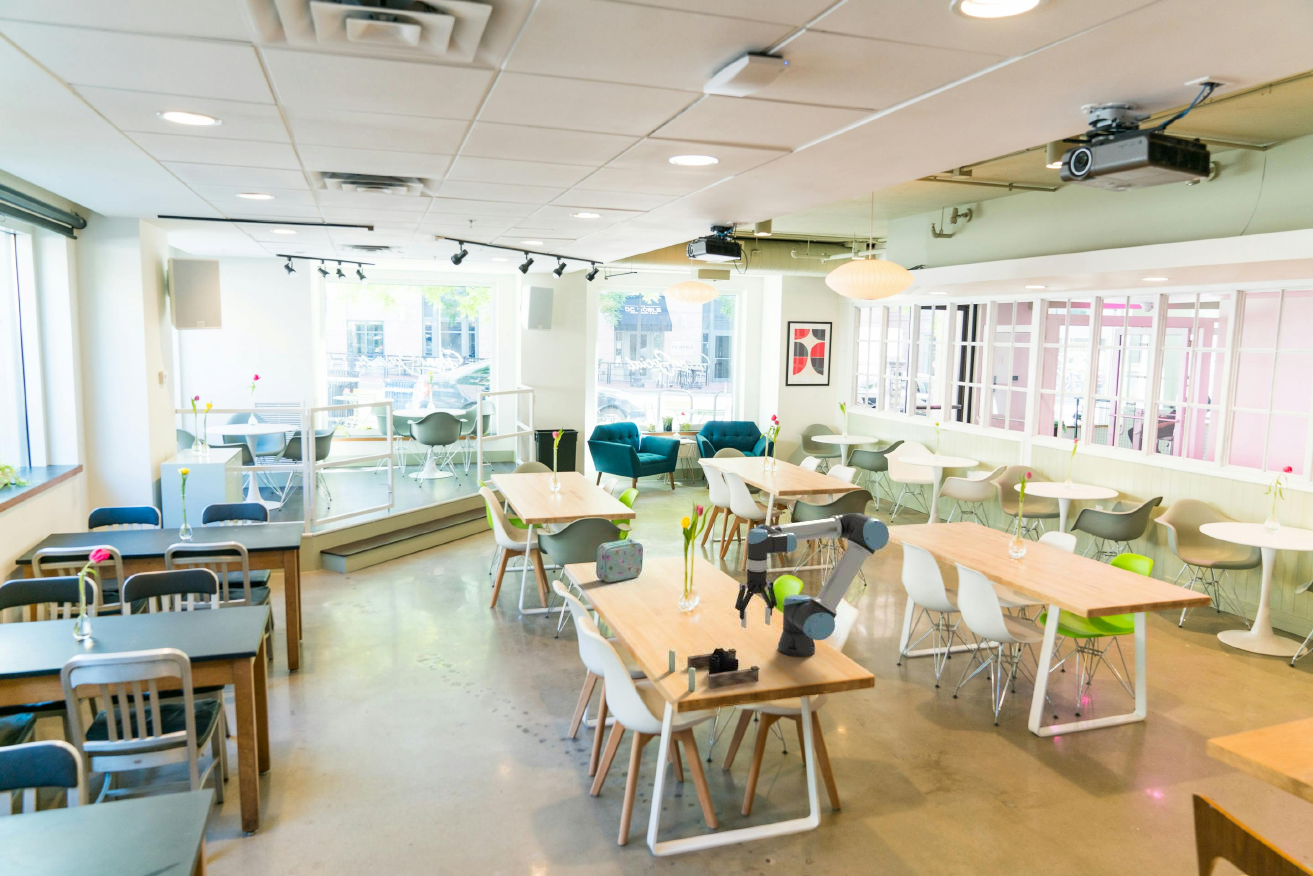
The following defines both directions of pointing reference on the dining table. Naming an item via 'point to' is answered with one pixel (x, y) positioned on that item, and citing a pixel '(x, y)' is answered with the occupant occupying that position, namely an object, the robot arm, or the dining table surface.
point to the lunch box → (619, 560)
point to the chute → (724, 677)
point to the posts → (691, 670)
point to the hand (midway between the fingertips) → (755, 625)
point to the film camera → (721, 662)
